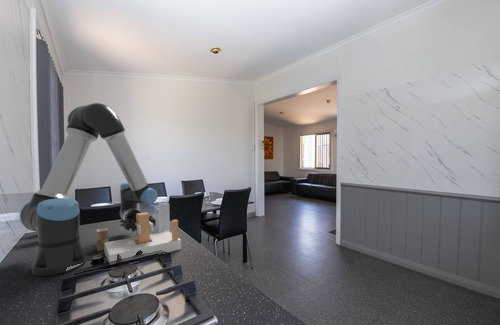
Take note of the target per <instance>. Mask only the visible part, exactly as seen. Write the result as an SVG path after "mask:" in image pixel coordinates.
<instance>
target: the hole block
mask: <svg viewBox="0 0 500 325" xmlns="http://www.w3.org/2000/svg"><path fill="white" fill-rule="evenodd" d="M170 222H171V231H170V232H169V231H165V232H160V233H159V232H155V233H150V242H148V243H143V244H138V243H137V236H134V237H128V238H123V239H117V240H113V241H109V242H106V243H104V250H103V251H104V255H105V258H106V257H107V258H108V259H109V261H113V260H116V259H117V255H118V254H119V255H120V256H121V258H127V257H131V256H134V255H136V253H137V252H138V251H140V250H141V251H142V252H143V253H147V252H154V251H158V250H162V251H165V252H167V253H170V252H171V253H172V252H174V251H179V250H182V239H181V238H179V220H178V219H172V220H171V219H170ZM107 258H106V259H107Z"/></svg>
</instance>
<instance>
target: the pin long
mask: <svg viewBox="0 0 500 325" xmlns="http://www.w3.org/2000/svg"><path fill="white" fill-rule="evenodd" d="M170 224H171V219H170V203H169V202H159V203H158V233H160V232H165V231H169V232H171V225H170Z"/></svg>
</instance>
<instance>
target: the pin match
mask: <svg viewBox="0 0 500 325" xmlns="http://www.w3.org/2000/svg"><path fill="white" fill-rule="evenodd" d="M149 216H150V214H149V212H146V211H145V212H141V213H137V214H136V222H137V223H138V224H139V225H140V226H141V233H140V234H139V233H138V232H137V231H136V237H137V243H138V244H143V243H148V242H150V234H151V232H150V229H149Z"/></svg>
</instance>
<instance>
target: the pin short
mask: <svg viewBox="0 0 500 325" xmlns="http://www.w3.org/2000/svg"><path fill="white" fill-rule="evenodd" d="M95 232H96V235H95V236H96V250H97V252H100V251H104V243H106V242H110V241H109V228H108V227H105V228H100V229H99V228H97V229H96V231H95Z"/></svg>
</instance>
